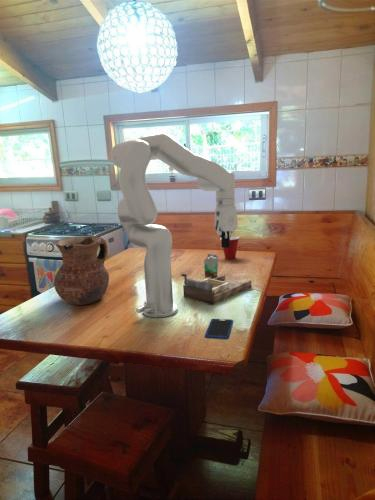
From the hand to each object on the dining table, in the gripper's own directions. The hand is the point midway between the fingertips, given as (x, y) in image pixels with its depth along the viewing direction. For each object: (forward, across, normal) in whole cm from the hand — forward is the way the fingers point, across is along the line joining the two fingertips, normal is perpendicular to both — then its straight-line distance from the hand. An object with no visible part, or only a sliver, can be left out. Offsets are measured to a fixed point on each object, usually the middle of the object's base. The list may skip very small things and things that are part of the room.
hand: (225, 247), depth 148 cm
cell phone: (+19, -33, -22) cm, 44 cm away
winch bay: (+18, -5, 0) cm, 19 cm away
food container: (+18, +10, +15) cm, 25 cm away
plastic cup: (+17, +45, +31) cm, 57 cm away
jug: (+19, -44, +39) cm, 62 cm away
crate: (+16, -11, 0) cm, 20 cm away
